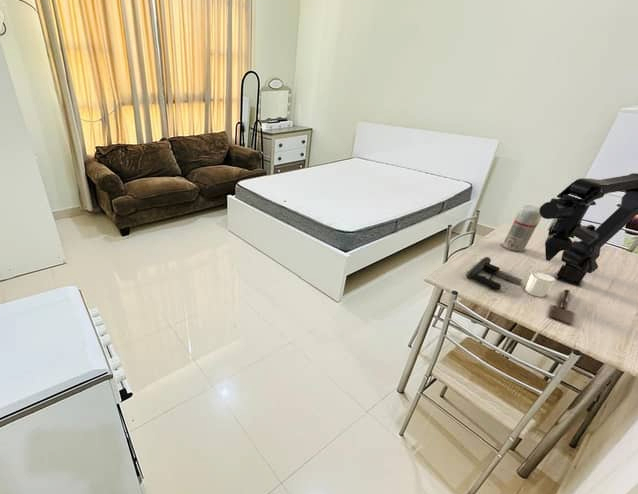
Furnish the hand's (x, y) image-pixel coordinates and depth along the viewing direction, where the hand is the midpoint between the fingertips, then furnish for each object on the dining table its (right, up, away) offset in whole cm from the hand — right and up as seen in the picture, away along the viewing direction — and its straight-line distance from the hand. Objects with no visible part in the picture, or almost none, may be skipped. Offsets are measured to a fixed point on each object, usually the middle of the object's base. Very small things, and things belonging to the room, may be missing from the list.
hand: (548, 255), depth 117 cm
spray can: (+12, +3, +30) cm, 32 cm away
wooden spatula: (-1, -17, -6) cm, 19 cm away
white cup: (-5, -14, +1) cm, 14 cm away
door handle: (-14, -9, +9) cm, 19 cm away
